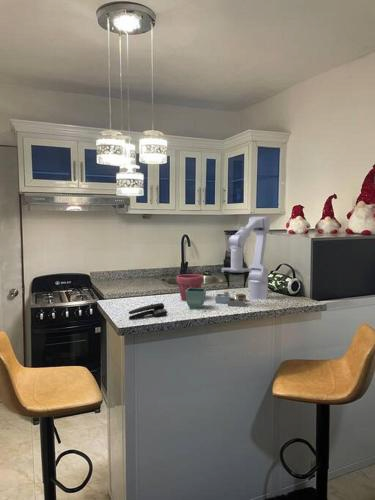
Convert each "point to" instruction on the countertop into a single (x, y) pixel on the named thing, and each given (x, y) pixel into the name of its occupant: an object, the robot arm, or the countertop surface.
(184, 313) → the countertop surface
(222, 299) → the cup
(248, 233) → the robot arm
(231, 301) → the tray
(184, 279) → the plant pot
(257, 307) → the countertop surface
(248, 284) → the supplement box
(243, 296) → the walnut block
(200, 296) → the flower pot
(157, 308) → the can opener
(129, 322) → the countertop surface
